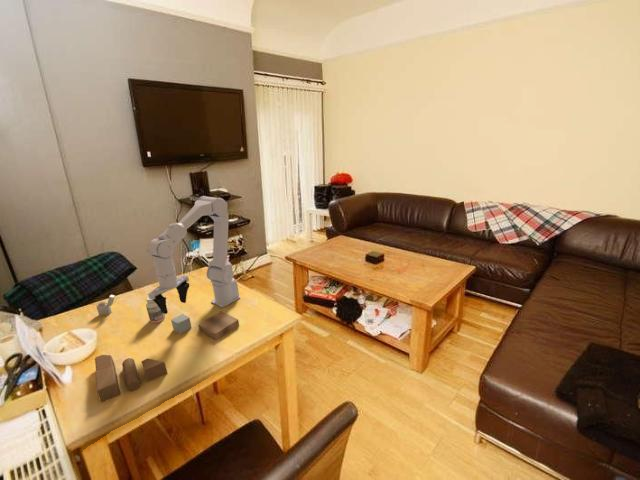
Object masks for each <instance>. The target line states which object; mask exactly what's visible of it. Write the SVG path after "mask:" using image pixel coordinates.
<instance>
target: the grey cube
mask: <svg viewBox="0 0 640 480" xmlns="http://www.w3.org/2000/svg"><path fill="white" fill-rule="evenodd" d="M170 321H171V326H172V329H173V331H174V332H176V333H177V334H179V335H181V334H183V333H185V332H187V331H189V330H190V329H192V323H191V319H190V317H189V316H187V315H186V314H184V313H181V314H179V315H178V316H175V317H174V318H171V319H170Z"/></svg>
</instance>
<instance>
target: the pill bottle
mask: <svg viewBox="0 0 640 480" xmlns="http://www.w3.org/2000/svg"><path fill="white" fill-rule="evenodd" d="M145 300H146V305H145V307H146V311H147V315H148V319H149V322H150V323H151V324H156V323H157V324H158V323H161V322H162V321H163V320H165V318H166V314H164V313H162V311H161V309H160V308H159V306H158V305H157V304H156V303H155V302H154V301H153V300H152V299H149V296H147V297H146V299H145Z"/></svg>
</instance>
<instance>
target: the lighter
mask: <svg viewBox="0 0 640 480" xmlns="http://www.w3.org/2000/svg"><path fill="white" fill-rule="evenodd" d="M115 297H116V295H115V294H110V295H109V297H108V300H107V303H106V301H100V302H99V303H98V304H97V305H96V310H97V312H98V316H99V315H101V316H108V314H110V315H111V314H112V313H113V311H112V308H111V306H112V305H113V304H114V300H115Z"/></svg>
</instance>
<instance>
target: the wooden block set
mask: <svg viewBox="0 0 640 480" xmlns="http://www.w3.org/2000/svg"><path fill="white" fill-rule="evenodd" d="M122 361H123V362H122V364H121V365H122V369H123V374H124V380H125V385H126V389H127V390H128V391H129V392H134V391H137V390H138V389H139V388H140V386H141V380H140V377H139V376H140V375H139V373H138V369H137V366H136V365H137V364H136V362H135V359H134V358H131V357H130V358H126V359H124V360H122ZM94 362H95V363H94V364H95V365H94V366H95V373H94V375H95V385H96V386H95V387H96V393H97V395H98V398H99V402H100V403H101V402H102V403H104V402H107V401H109V400H112V399H114V398H116V397H118V396H121V389H120V384H119V378H118V374H117V371H116V366H115V365H116V364H115V361H114V359H113V356H112V355H111V354H110V355H109V354H100V355H98V356H95V357H94ZM140 363H141V365H142V369H143V372H144V375H145V378H146V379H145V380H146V382H147V383H150V382H151V381H153V380H156V379H158V378H160V377H163V376H165V375H167V374H168V370H167V366H166V362H165V361H162V360H156V359H151V358H146V359H144V360H142V361H141V362H140Z"/></svg>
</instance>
